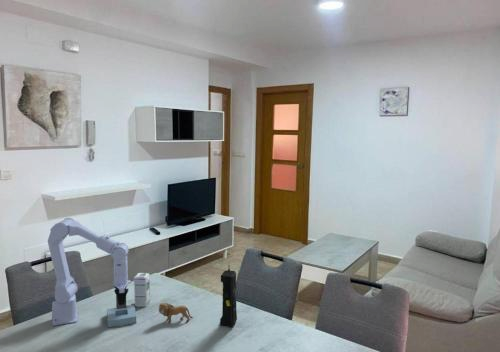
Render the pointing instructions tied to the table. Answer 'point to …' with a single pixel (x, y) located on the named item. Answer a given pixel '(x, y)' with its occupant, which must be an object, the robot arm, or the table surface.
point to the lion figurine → (173, 311)
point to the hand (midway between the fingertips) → (121, 302)
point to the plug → (120, 305)
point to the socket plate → (121, 316)
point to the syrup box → (142, 289)
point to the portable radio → (228, 299)
